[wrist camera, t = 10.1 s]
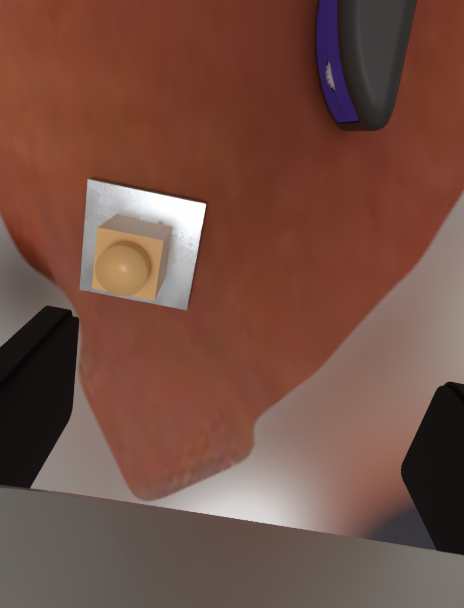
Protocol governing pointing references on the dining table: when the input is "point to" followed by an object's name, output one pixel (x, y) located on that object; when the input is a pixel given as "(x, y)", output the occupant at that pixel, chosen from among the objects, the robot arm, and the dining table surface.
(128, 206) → the plate
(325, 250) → the dining table surface
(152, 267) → the cube with dome knob
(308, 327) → the dining table surface
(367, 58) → the grey blue curved piece
